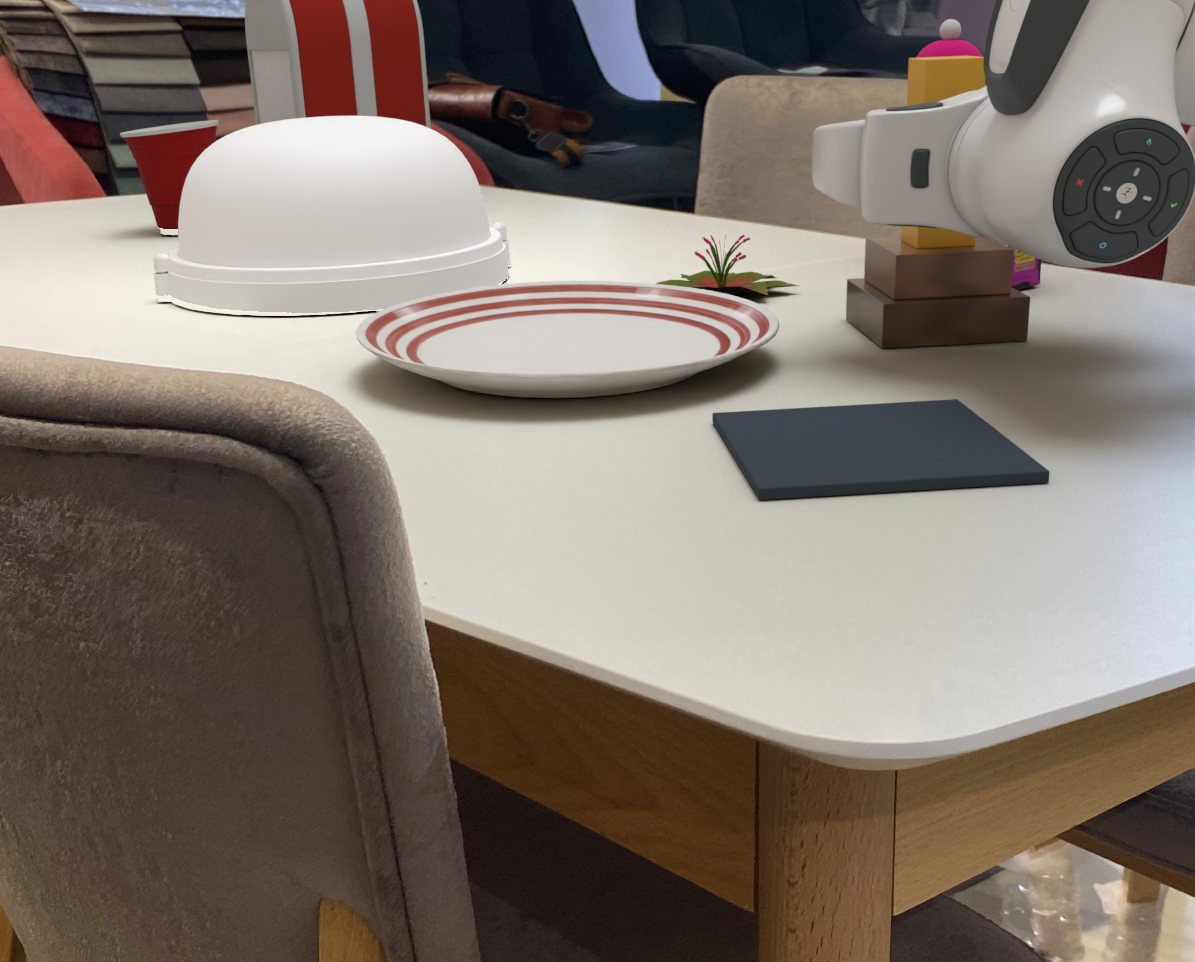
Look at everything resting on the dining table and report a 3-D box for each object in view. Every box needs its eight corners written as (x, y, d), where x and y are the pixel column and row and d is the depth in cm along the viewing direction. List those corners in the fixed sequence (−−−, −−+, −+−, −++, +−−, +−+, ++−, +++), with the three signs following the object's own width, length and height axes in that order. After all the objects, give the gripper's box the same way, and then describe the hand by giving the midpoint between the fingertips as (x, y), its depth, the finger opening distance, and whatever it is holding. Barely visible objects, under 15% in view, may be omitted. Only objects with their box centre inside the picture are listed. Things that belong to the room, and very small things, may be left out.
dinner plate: (864, 356, 94) (865, 305, 93) (558, 447, 77) (555, 387, 76) (576, 309, 113) (575, 266, 111) (278, 375, 95) (272, 325, 94)
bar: (956, 237, 101) (967, 55, 96) (975, 246, 97) (986, 57, 93) (900, 240, 101) (908, 58, 96) (917, 249, 97) (926, 59, 92)
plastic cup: (153, 228, 169) (137, 120, 164) (244, 224, 168) (230, 117, 164) (121, 241, 159) (103, 128, 154) (217, 238, 158) (202, 124, 154)
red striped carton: (439, 200, 183) (422, -30, 173) (309, 214, 175) (283, -27, 165) (386, 190, 197) (367, -24, 186) (262, 203, 188) (235, -21, 178)
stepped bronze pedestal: (978, 313, 106) (984, 230, 104) (1027, 341, 97) (1034, 250, 94) (845, 320, 105) (848, 236, 103) (881, 349, 96) (885, 258, 94)
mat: (956, 409, 81) (957, 398, 81) (1049, 483, 68) (1050, 470, 68) (712, 423, 80) (712, 412, 80) (759, 500, 68) (759, 488, 67)
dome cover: (461, 246, 146) (451, 100, 141) (569, 290, 120) (562, 114, 115) (137, 277, 135) (113, 120, 130) (180, 333, 109) (151, 140, 104)
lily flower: (620, 292, 119) (619, 236, 117) (737, 275, 125) (736, 221, 123) (705, 314, 109) (705, 252, 108) (827, 294, 115) (828, 235, 113)
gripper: (1190, 97, 84) (1094, 86, 96) (844, 113, 82) (793, 100, 95) (1178, 208, 86) (1086, 183, 99) (841, 225, 85) (792, 198, 97)
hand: (940, 143), depth 97 cm, fingers open, 8 cm apart
